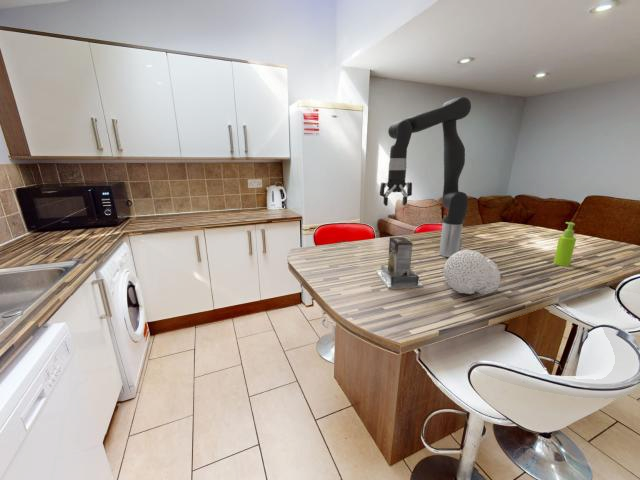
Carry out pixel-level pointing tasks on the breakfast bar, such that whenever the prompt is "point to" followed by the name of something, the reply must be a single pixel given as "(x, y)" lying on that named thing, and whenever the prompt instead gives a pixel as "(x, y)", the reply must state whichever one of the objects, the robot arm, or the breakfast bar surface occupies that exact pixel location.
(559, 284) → the breakfast bar surface
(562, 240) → the soap dispenser
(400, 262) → the coffee box
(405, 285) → the clip bracket
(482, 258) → the white coral
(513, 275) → the breakfast bar surface
